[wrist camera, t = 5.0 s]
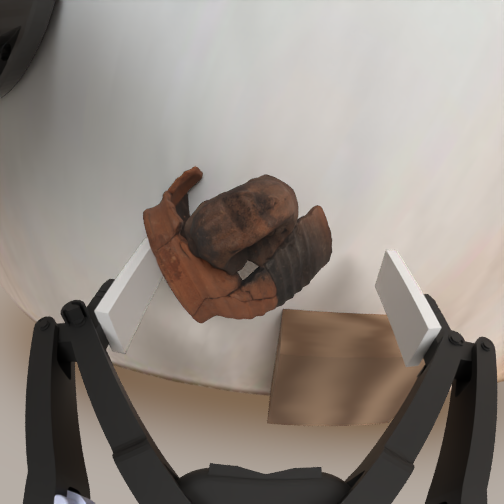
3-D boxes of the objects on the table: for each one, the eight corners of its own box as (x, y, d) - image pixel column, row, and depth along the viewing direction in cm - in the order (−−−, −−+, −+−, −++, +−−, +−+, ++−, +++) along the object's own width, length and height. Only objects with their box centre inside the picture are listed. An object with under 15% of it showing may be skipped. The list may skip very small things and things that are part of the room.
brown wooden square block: (270, 387, 32) (267, 423, 28) (283, 305, 24) (280, 354, 20) (383, 389, 31) (388, 422, 27) (436, 312, 22) (452, 353, 18)
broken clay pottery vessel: (313, 282, 21) (213, 336, 19) (253, 176, 22) (157, 222, 21) (403, 246, 9) (184, 372, 8) (269, 59, 10) (87, 134, 9)
